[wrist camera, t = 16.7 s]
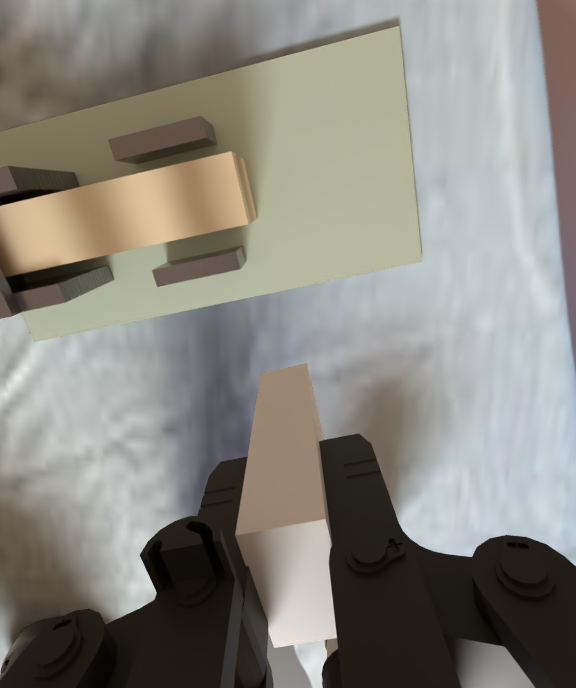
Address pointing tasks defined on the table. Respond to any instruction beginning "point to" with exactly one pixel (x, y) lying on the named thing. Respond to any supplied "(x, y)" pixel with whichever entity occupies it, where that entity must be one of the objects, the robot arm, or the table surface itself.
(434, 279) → the table surface
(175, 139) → the open saddle
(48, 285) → the end cap
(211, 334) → the table surface
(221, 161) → the pine slat
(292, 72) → the sage board
